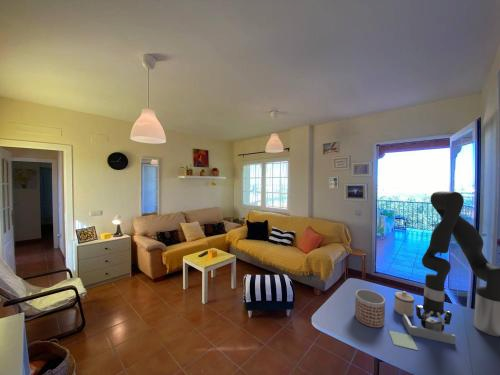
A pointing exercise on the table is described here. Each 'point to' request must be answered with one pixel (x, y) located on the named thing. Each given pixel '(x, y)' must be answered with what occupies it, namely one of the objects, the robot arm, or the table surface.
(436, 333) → the pen walls
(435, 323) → the dice cube
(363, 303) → the planter
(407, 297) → the teacup with lid
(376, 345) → the table surface
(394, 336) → the mat
